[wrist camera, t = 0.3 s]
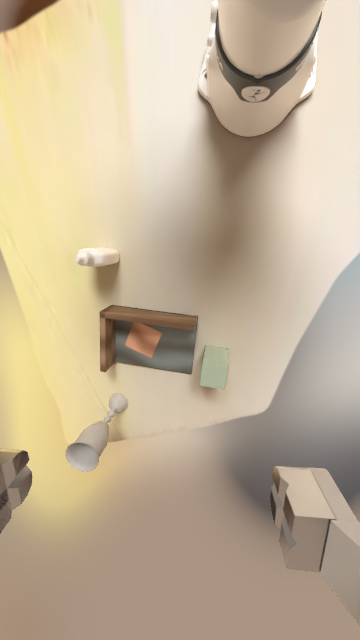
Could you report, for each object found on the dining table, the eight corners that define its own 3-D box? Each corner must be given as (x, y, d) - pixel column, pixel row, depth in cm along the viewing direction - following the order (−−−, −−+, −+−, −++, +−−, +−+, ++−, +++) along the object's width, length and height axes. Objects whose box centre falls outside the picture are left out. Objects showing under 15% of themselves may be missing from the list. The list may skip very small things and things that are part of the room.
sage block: (205, 345, 57) (202, 363, 49) (227, 348, 57) (228, 367, 48) (203, 364, 59) (199, 385, 50) (224, 368, 58) (224, 389, 50)
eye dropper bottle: (113, 271, 56) (85, 279, 45) (92, 256, 56) (59, 259, 44) (123, 255, 55) (96, 258, 43) (102, 239, 54) (69, 238, 43)
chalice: (116, 385, 65) (77, 436, 48) (136, 401, 65) (105, 457, 48) (101, 402, 67) (59, 456, 50) (121, 418, 68) (86, 477, 51)
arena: (111, 305, 58) (99, 311, 53) (197, 316, 56) (194, 325, 50) (111, 359, 63) (100, 371, 57) (191, 372, 60) (187, 386, 54)
